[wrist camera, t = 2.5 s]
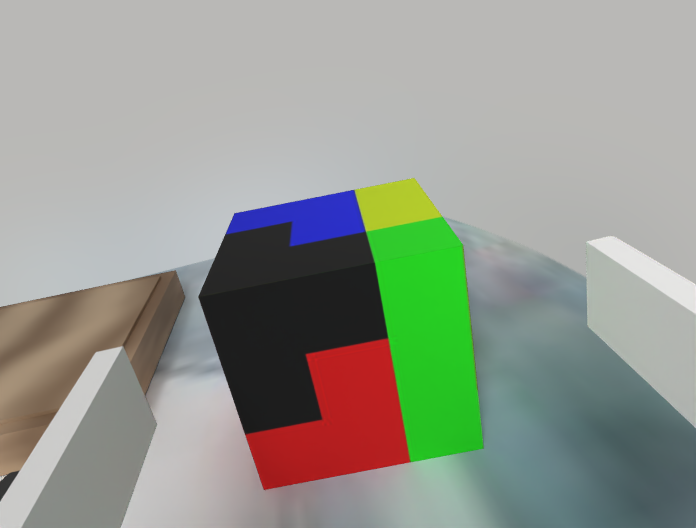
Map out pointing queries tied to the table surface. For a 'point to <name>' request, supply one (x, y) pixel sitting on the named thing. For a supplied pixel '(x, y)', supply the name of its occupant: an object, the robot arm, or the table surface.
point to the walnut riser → (75, 350)
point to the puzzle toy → (345, 333)
